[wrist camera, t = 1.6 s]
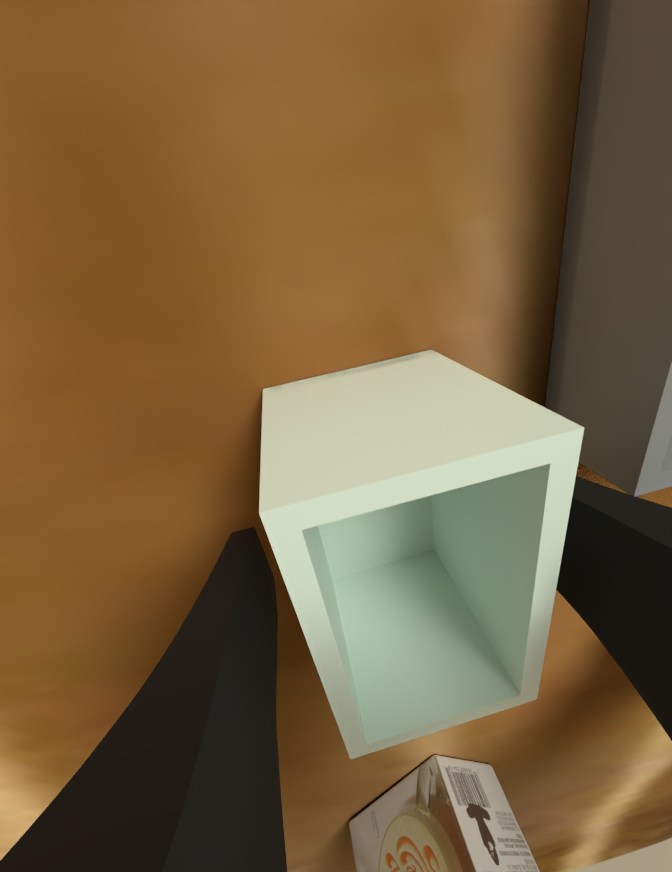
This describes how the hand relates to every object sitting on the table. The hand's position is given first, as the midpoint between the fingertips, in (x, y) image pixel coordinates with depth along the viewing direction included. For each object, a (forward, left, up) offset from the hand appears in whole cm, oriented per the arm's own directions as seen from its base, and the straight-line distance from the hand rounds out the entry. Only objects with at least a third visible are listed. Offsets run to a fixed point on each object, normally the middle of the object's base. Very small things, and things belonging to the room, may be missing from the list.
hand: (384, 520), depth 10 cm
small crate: (0, 0, -2) cm, 2 cm away
